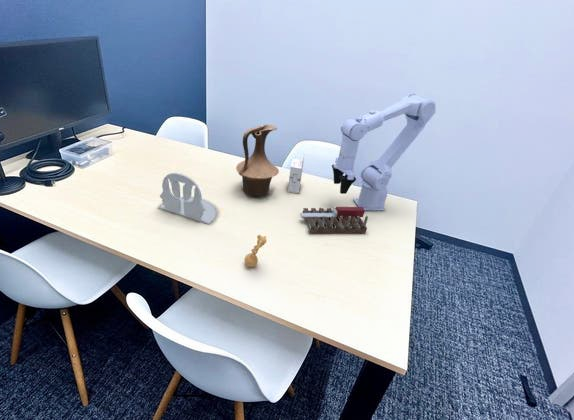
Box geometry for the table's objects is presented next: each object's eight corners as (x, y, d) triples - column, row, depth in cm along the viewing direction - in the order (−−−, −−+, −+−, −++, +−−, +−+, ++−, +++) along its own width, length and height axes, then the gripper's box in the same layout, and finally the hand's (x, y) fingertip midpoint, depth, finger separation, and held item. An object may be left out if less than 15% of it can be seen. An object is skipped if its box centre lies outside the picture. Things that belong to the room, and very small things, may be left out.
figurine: (250, 255, 104) (252, 223, 97) (268, 261, 102) (271, 229, 96) (239, 271, 97) (240, 239, 91) (258, 278, 95) (261, 245, 89)
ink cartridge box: (288, 182, 147) (293, 151, 139) (300, 184, 146) (305, 153, 138) (287, 192, 140) (291, 159, 132) (298, 193, 139) (303, 161, 131)
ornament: (157, 208, 124) (153, 167, 115) (178, 193, 134) (175, 154, 125) (208, 224, 117) (208, 182, 108) (226, 207, 127) (227, 167, 118)
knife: (360, 213, 123) (362, 206, 121) (363, 217, 121) (365, 210, 119) (300, 213, 121) (301, 206, 119) (301, 217, 118) (302, 210, 117)
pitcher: (253, 206, 128) (258, 136, 113) (226, 189, 139) (227, 123, 124) (284, 193, 139) (292, 127, 124) (256, 178, 149) (261, 116, 134)
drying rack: (352, 214, 127) (357, 198, 124) (365, 234, 117) (370, 218, 113) (301, 214, 126) (304, 198, 122) (310, 234, 115) (313, 218, 111)
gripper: (330, 146, 123) (324, 179, 131) (343, 162, 111) (335, 197, 118) (349, 146, 124) (341, 179, 131) (363, 163, 112) (354, 198, 119)
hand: (339, 188), depth 125 cm, fingers open, 7 cm apart
